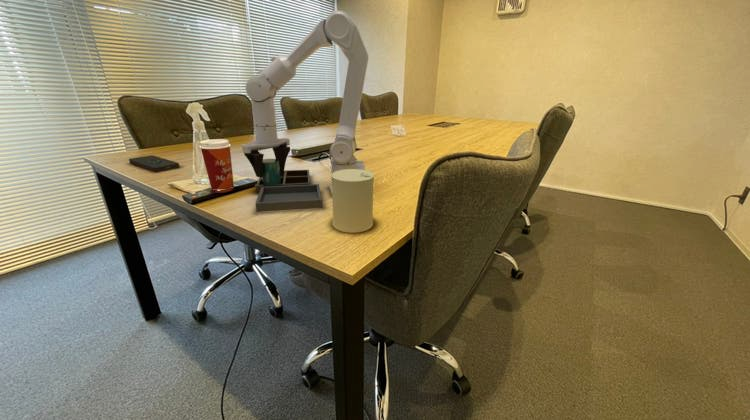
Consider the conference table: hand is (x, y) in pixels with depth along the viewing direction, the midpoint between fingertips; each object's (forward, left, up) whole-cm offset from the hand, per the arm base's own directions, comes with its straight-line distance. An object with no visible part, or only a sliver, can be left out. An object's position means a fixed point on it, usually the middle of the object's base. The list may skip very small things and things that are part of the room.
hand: (270, 173), depth 87 cm
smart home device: (+43, -32, -5) cm, 54 cm away
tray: (-6, +12, -5) cm, 14 cm away
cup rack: (-4, -3, -5) cm, 7 cm away
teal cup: (0, 0, -4) cm, 4 cm away
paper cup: (+13, 0, -5) cm, 14 cm away
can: (-20, +28, -5) cm, 34 cm away
